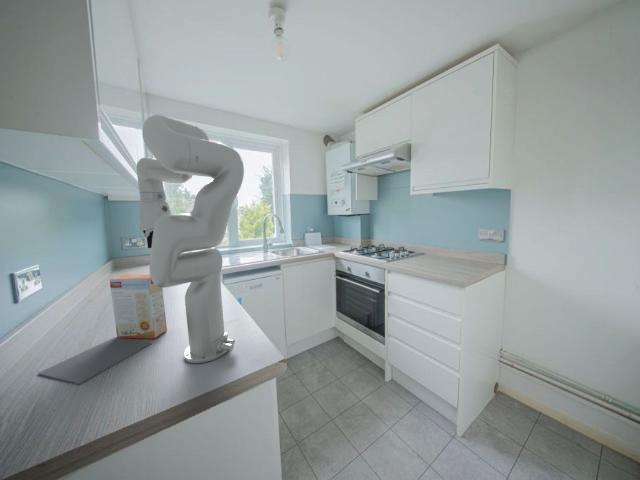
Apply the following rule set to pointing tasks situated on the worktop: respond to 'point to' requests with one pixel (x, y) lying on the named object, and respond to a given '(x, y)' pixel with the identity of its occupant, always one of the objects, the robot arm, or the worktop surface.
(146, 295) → the cracker box
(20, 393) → the worktop surface
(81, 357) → the mat
